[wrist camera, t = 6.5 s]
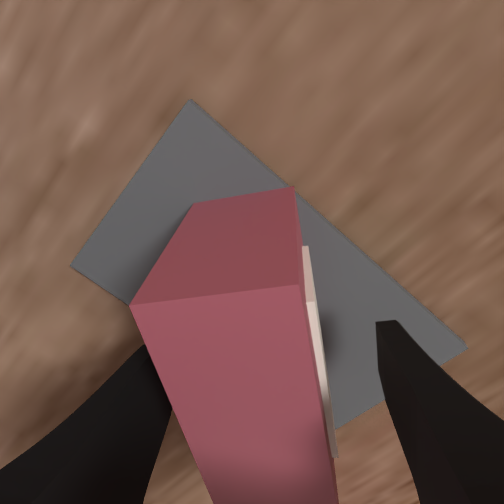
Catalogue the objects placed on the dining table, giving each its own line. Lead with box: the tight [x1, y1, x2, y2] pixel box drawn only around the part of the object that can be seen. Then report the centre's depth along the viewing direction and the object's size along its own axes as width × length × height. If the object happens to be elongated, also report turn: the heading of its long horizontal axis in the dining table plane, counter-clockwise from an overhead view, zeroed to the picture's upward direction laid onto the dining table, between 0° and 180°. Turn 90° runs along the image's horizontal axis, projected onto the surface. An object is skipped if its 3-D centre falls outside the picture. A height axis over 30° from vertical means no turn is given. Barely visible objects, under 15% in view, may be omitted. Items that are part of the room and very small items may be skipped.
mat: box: [70, 99, 468, 430], centre depth 15 cm, size 14×8×1 cm, turn 49°
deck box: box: [129, 186, 339, 504], centre depth 12 cm, size 4×9×6 cm, turn 11°
